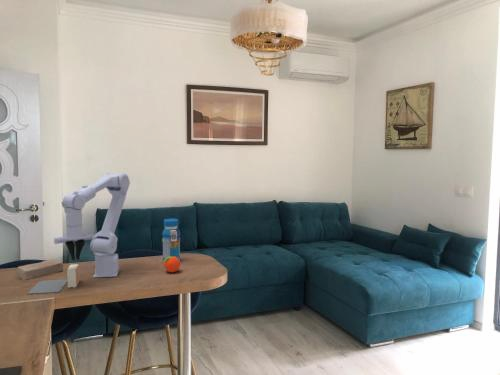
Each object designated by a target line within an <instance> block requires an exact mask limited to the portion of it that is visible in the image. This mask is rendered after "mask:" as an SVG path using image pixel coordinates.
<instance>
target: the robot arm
mask: <svg viewBox="0 0 500 375" xmlns="http://www.w3.org/2000/svg"><path fill="white" fill-rule="evenodd" d="M130 184H131V181H130V178H129V175H128V174H126V173H111V172H108V173H106V174H104V175H102V176H101V178H100V179H99V180H97V181H95V182H94V183H93V184H91V185H88V184H84V185H81V188H79V189H78V190H74V191H73V193H68V194H66V195H65V196H63V199H62V201H61V206H62V208H63V209H64V213H65V225H66V226H65V228H66V232H65V234H66V235H65V236H60V237H59V236H58V237H54V238H53V244H54V245H57V244H64V243H65V245H66V248H67V249H68V252H69V255H70V257H71V261H75V260H77V261H79V260H80V258H81V253H82V250H83V248H84V246H85V244H86V242H85V241H90V244H89V248H90V251H91V252H93V255H94V270H95V271H94V272H95V273H94V274H93V275H92V278H109V277H118V274H119V272H120V265H119V253H116V251H117V247H118V241H119V239H118V237H117V236H116V234H115V232H116V228H117V227H118V223H119V219H120V217H121V216H120V215H121V213H122V210H123V207H124V204H125V200H126V198H127V193H128V191H129V187H130ZM105 188H106V189H107V191H108V192H109V194H111V196H112V197H111V200H110V203H109V207H108V209H107V212H106V215H105V218H104V221H103V224H102V226H101V227H102V228H101V230H99V231H98V232H96V233H95V234H94V233H86V234H83V213H82V211H83V210H82V209H84V207H85V206H86V204H87V203H88V202H89V201H91V200H93V199H94V198H95V197H96V196H97V193H98V192H100V191H102V190H104V189H105Z"/></svg>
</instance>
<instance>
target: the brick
mask: <svg viewBox="0 0 500 375" xmlns="http://www.w3.org/2000/svg"><path fill="white" fill-rule="evenodd" d="M63 270H64V264H63V261H61V260H58V259H54V258H53V259H47V260H43V261H41V262H37V263H36V262H35V263H30V264H24V265H19V266H18V267H17V269H16V277H17V278H20V279H21V280H24V281H25V280H31V279H34V278H40V277H43V276H48V275H53V274H57V273H59V272H60V273H61V272H62V271H63Z"/></svg>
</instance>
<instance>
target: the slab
mask: <svg viewBox="0 0 500 375" xmlns="http://www.w3.org/2000/svg"><path fill="white" fill-rule="evenodd" d="M79 265H80V264H79V263H75V264H70V265H69V266H68V268H67V270H66V273H67V274H66V275H67V281H68V282H67V288H69V289H70V287H73V288H77V286H78V284H79V282H80V271H79V270H80V266H79Z"/></svg>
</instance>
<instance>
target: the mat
mask: <svg viewBox="0 0 500 375" xmlns="http://www.w3.org/2000/svg"><path fill="white" fill-rule="evenodd" d="M67 284H68V281H67V279H52V280H51V279H49V280H47V279H46V280H39V281H38V282H37V283H36V284H35V285H34V286H33V287H31V289H30V290H29V291H28V292H27V295H38V294H40V295H42V294H59V293H60V292H61V291H62V290H63V289H64V288H65V286H66V285H67Z"/></svg>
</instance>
